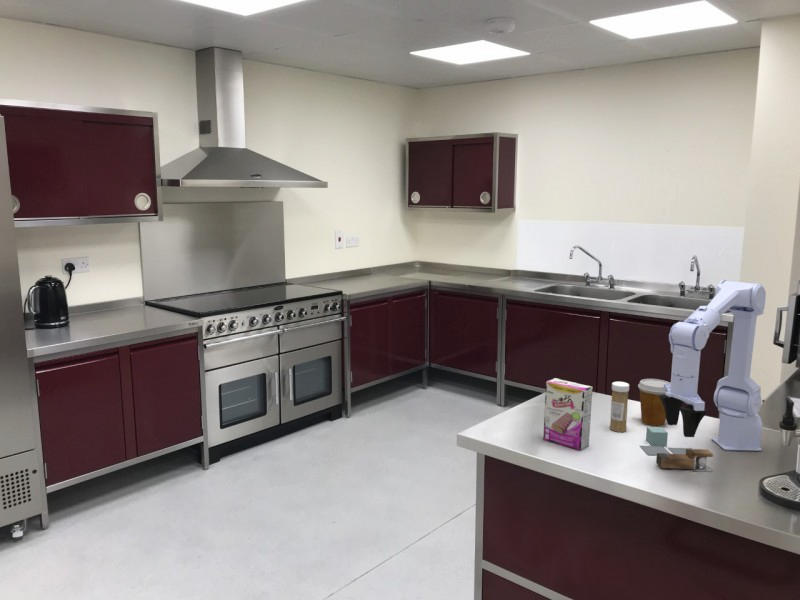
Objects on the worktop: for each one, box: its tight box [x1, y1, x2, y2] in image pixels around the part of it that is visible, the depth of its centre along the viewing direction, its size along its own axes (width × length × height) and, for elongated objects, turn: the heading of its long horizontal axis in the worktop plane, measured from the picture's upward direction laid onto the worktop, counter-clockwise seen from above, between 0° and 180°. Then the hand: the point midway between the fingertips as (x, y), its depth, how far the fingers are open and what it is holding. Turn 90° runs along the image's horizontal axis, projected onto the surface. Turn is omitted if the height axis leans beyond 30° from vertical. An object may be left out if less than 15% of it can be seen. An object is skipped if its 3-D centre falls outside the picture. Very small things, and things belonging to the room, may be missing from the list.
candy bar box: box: [542, 377, 593, 452], centre depth 163 cm, size 11×5×16 cm, turn 47°
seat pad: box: [639, 445, 671, 457], centre depth 159 cm, size 6×6×1 cm
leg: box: [655, 448, 714, 470], centre depth 149 cm, size 12×3×4 cm, turn 88°
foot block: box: [645, 426, 669, 448], centre depth 164 cm, size 4×4×4 cm
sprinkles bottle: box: [609, 381, 630, 433], centre depth 173 cm, size 5×5×13 cm
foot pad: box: [668, 447, 696, 459], centre depth 158 cm, size 6×6×1 cm
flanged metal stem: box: [693, 457, 714, 473], centre depth 149 cm, size 4×4×3 cm
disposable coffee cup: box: [637, 378, 671, 427], centre depth 179 cm, size 10×10×12 cm
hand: (680, 430), depth 145 cm, fingers open, 7 cm apart
